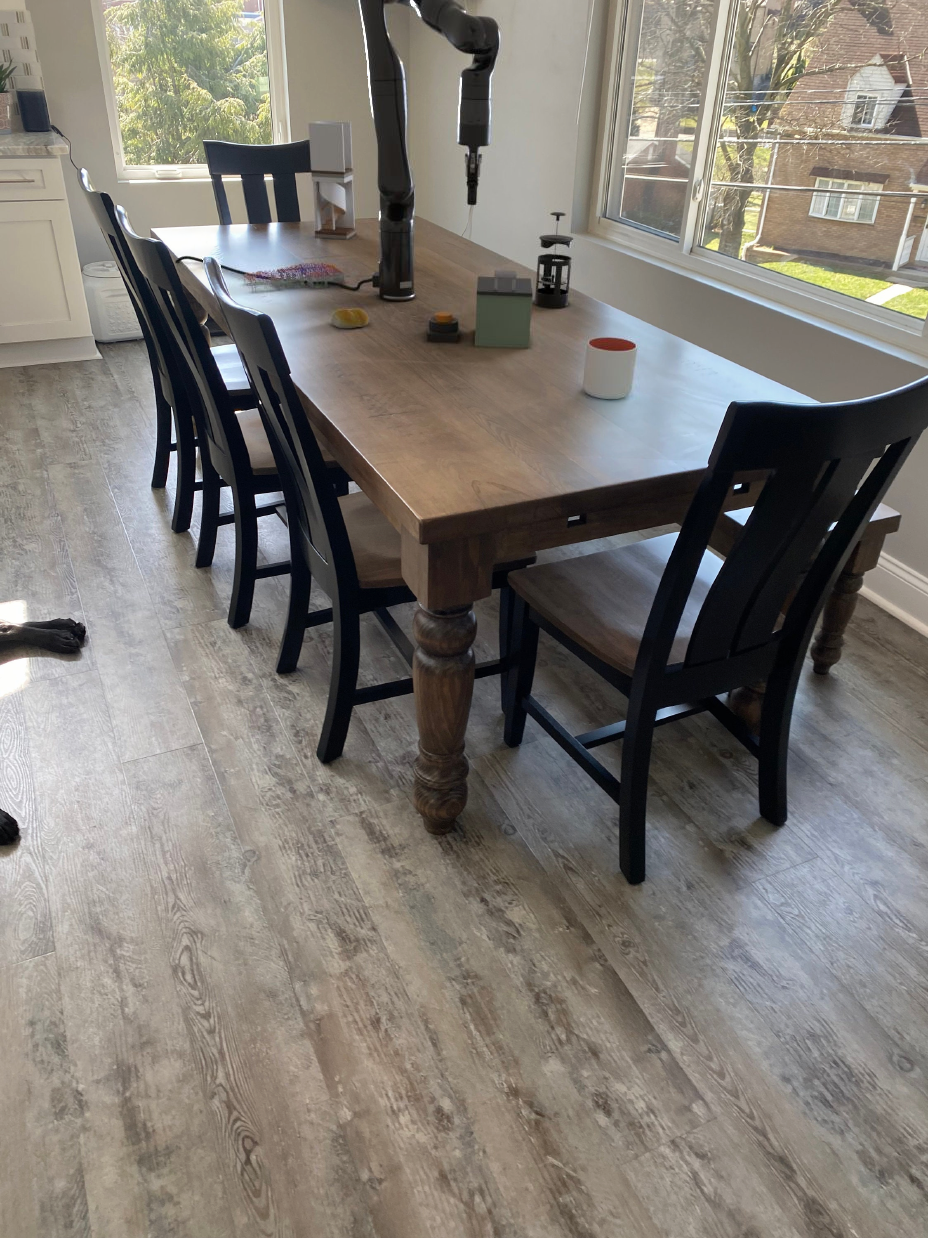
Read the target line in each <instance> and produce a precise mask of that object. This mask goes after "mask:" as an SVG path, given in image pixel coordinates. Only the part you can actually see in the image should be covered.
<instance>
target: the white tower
mask: <svg viewBox="0 0 928 1238" xmlns="http://www.w3.org/2000/svg"><path fill="white" fill-rule="evenodd" d="M308 139H309V154H310V172H311V181H312V189H313V190H312V192H313V207H314V222H315V225H314V226H315V230H314V238H318V239H332V240H333V239H334V240H348V239H350V238H351V237H353V236H354V235H355V234H356V225H355V222H356V221H355V202H354V201H355V198H354V197H355V196H354V195H355V194H354V173H353V172H354V169H353V167H354V166H353V165H354V164H353V141H352V122H351V121H336V120H335V121H332V120H316V121H311V122H308Z"/></svg>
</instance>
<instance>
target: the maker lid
mask: <svg viewBox="0 0 928 1238" xmlns="http://www.w3.org/2000/svg"><path fill="white" fill-rule="evenodd" d="M493 275H494V276H477V284H476V285H477V286H476V296H477V295H495V296H520V297H532V298H533V296H534V294H533V285H532V278H527V277H526V278H525V277H524V278H523V277H522V278H521V277H517V276H518V271H517V270H504V269H503V270H502V269H495V270H494V273H493Z"/></svg>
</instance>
